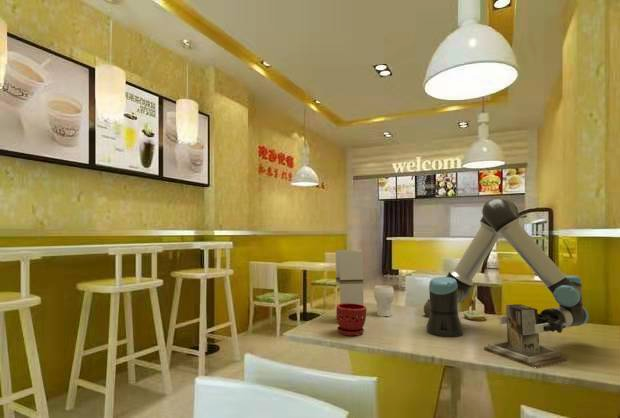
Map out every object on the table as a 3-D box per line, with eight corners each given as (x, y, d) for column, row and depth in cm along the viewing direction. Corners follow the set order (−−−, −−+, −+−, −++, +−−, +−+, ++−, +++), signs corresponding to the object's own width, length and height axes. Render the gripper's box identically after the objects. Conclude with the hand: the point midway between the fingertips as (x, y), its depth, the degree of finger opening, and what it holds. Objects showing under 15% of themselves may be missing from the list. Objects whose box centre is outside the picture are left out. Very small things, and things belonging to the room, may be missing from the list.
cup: (390, 318, 182) (389, 288, 183) (371, 315, 188) (370, 287, 189) (397, 314, 191) (396, 286, 192) (378, 312, 197) (378, 284, 198)
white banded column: (357, 317, 184) (356, 250, 186) (363, 323, 173) (362, 251, 175) (336, 318, 182) (335, 250, 184) (340, 324, 172) (340, 251, 174)
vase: (438, 318, 182) (438, 301, 182) (424, 317, 183) (424, 300, 184) (436, 315, 188) (436, 298, 189) (423, 314, 190) (422, 298, 190)
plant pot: (345, 339, 148) (345, 309, 149) (331, 330, 160) (331, 304, 161) (372, 335, 153) (371, 307, 153) (357, 327, 165) (356, 301, 166)
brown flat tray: (484, 349, 133) (483, 342, 133) (513, 344, 140) (512, 337, 140) (536, 368, 115) (535, 360, 115) (567, 360, 121) (566, 353, 122)
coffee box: (541, 356, 123) (538, 309, 124) (523, 356, 123) (521, 309, 124) (522, 347, 132) (520, 303, 133) (506, 348, 132) (504, 304, 133)
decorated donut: (469, 322, 175) (469, 314, 175) (460, 316, 186) (459, 309, 186) (490, 321, 175) (490, 313, 176) (479, 316, 186) (479, 309, 186)
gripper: (592, 337, 124) (553, 345, 115) (524, 321, 147) (487, 326, 138) (591, 315, 124) (552, 321, 116) (523, 302, 147) (487, 307, 139)
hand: (517, 324), depth 127 cm, fingers open, 13 cm apart
